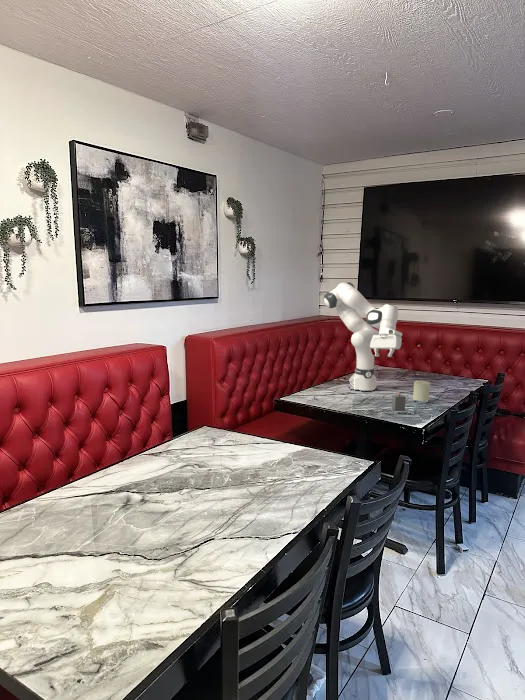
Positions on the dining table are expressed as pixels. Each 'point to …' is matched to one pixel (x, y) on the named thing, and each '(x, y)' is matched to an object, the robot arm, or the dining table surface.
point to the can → (421, 390)
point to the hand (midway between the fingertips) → (383, 356)
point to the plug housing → (398, 402)
